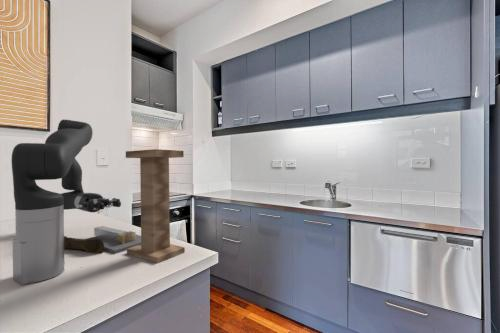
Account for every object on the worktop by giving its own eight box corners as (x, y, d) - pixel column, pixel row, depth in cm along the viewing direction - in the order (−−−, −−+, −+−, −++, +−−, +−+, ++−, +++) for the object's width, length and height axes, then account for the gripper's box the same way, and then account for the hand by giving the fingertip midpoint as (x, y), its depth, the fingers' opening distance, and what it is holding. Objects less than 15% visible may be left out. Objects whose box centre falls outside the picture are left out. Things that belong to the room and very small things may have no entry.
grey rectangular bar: (122, 244, 82) (122, 235, 82) (91, 236, 92) (91, 228, 92) (135, 240, 86) (135, 232, 86) (104, 233, 96) (104, 225, 96)
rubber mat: (115, 253, 76) (115, 250, 76) (81, 242, 88) (81, 239, 88) (153, 241, 88) (153, 238, 88) (119, 233, 99) (119, 230, 99)
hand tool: (54, 249, 81) (54, 236, 81) (67, 246, 84) (66, 232, 84) (95, 256, 74) (95, 241, 74) (107, 252, 78) (106, 238, 78)
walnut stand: (157, 263, 68) (156, 149, 68) (126, 253, 76) (125, 151, 76) (184, 252, 76) (183, 150, 76) (154, 244, 84) (153, 152, 84)
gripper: (68, 194, 93) (90, 197, 84) (107, 191, 105) (130, 193, 96) (68, 214, 93) (90, 219, 84) (107, 208, 105) (130, 212, 96)
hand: (111, 205), depth 90 cm, fingers open, 5 cm apart
